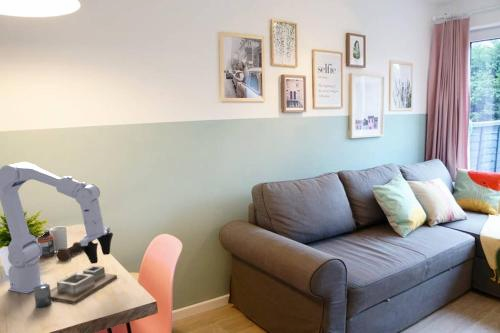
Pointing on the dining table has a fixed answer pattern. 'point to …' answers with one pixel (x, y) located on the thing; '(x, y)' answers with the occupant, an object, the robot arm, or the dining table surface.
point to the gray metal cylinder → (42, 296)
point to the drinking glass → (59, 237)
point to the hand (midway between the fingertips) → (100, 258)
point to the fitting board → (81, 284)
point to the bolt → (68, 251)
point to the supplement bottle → (46, 245)
